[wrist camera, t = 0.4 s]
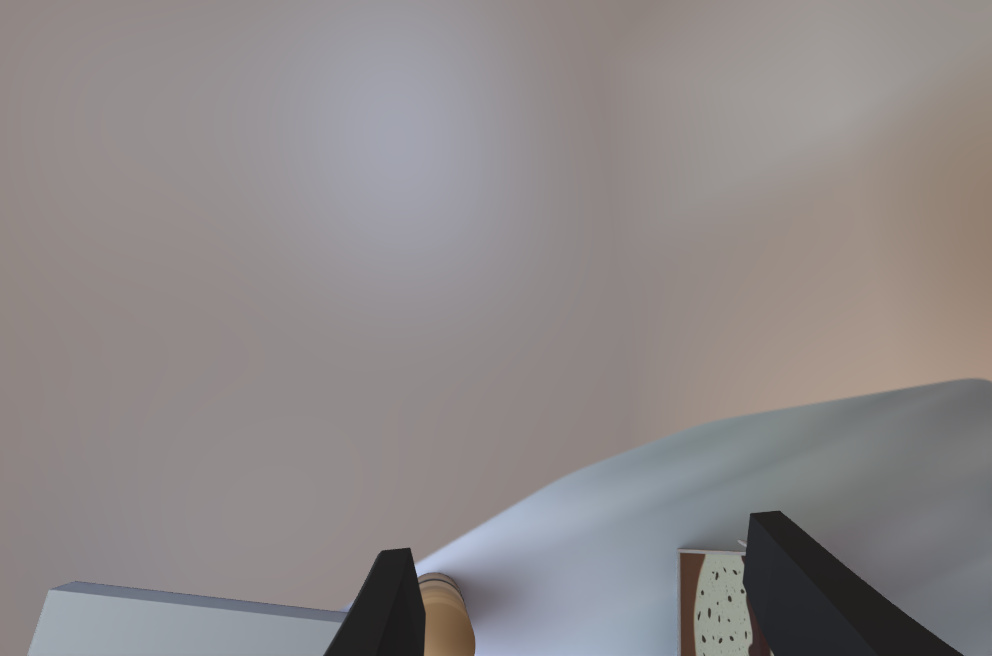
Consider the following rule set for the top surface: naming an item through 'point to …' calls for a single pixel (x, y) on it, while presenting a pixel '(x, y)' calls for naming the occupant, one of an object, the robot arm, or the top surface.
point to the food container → (715, 606)
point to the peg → (445, 618)
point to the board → (175, 625)
